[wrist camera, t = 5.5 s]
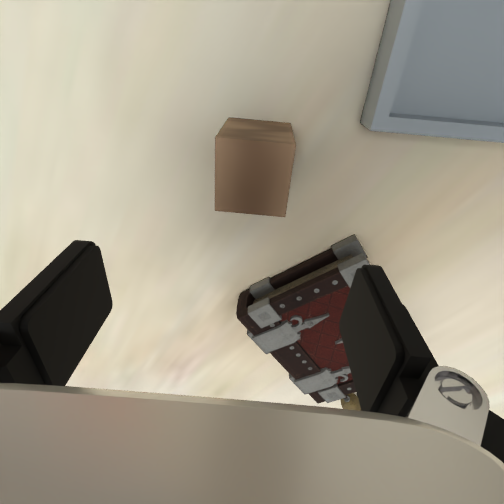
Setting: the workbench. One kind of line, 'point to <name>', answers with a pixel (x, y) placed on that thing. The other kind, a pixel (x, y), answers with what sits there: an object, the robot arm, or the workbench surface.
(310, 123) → the workbench surface
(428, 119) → the tray
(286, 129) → the walnut block
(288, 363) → the book
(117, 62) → the workbench surface
